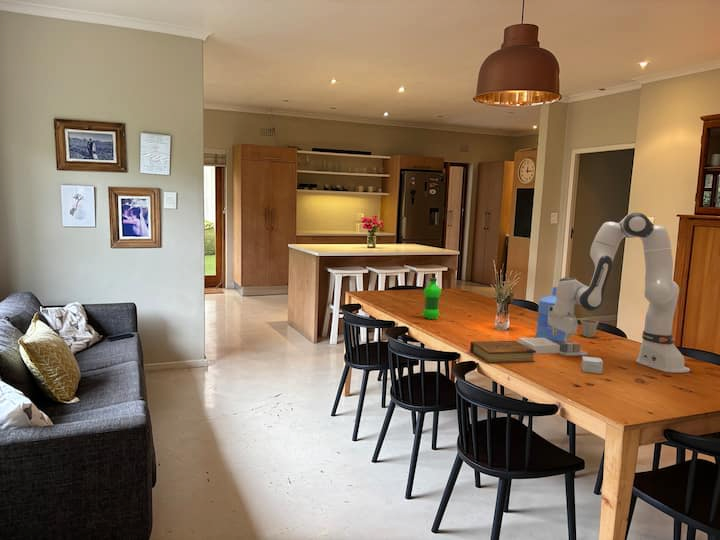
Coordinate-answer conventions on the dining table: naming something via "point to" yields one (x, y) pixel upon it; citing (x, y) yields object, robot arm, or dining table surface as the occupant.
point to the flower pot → (588, 327)
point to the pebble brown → (576, 347)
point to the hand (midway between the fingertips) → (560, 338)
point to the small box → (592, 365)
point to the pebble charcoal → (562, 346)
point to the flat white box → (540, 345)
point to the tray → (573, 353)
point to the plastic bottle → (431, 299)
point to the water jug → (542, 321)
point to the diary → (502, 351)
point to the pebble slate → (569, 346)
